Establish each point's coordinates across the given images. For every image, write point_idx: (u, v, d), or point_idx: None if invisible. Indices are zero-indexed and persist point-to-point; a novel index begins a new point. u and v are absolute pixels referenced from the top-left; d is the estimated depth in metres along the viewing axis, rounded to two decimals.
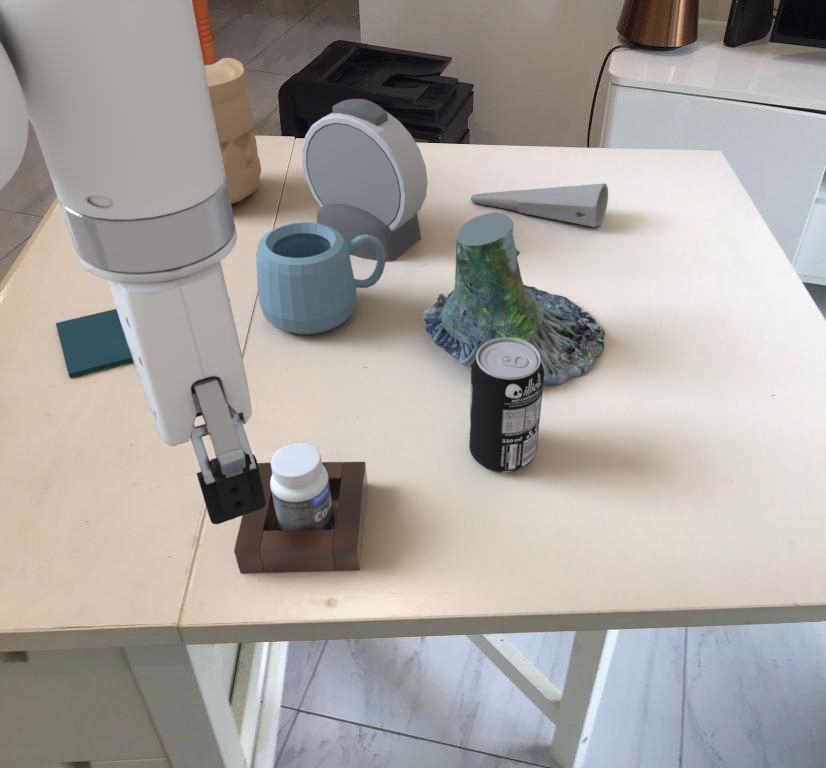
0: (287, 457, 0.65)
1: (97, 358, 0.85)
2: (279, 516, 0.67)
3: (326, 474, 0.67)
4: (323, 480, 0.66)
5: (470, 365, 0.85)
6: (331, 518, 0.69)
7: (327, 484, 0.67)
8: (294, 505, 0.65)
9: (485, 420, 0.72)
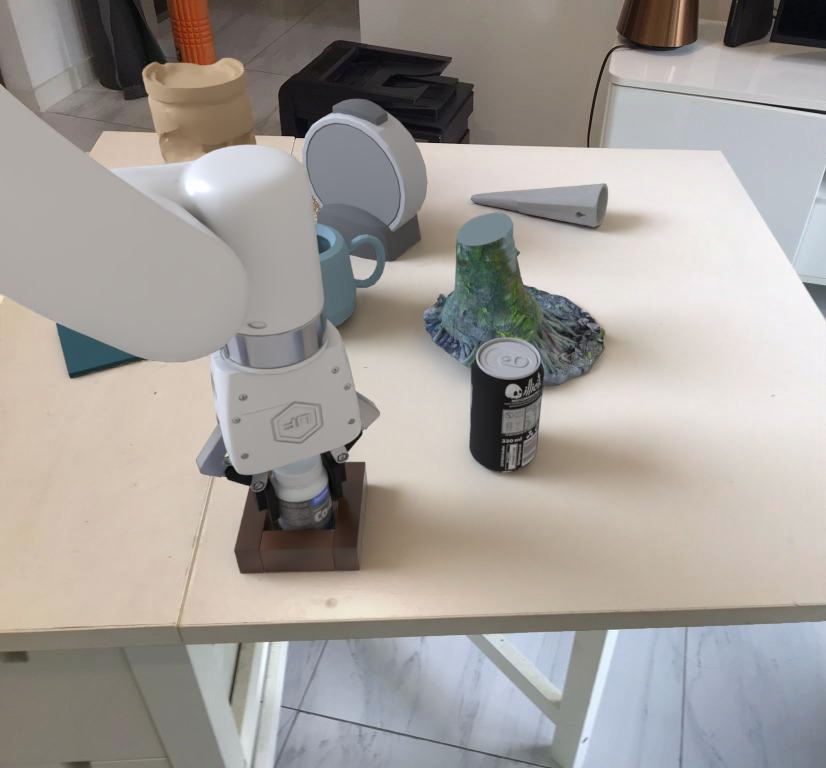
0: None
1: (97, 358, 0.85)
2: None
3: (326, 474, 0.67)
4: (323, 480, 0.66)
5: (470, 365, 0.85)
6: (331, 518, 0.69)
7: (327, 484, 0.67)
8: (294, 505, 0.65)
9: (485, 420, 0.72)
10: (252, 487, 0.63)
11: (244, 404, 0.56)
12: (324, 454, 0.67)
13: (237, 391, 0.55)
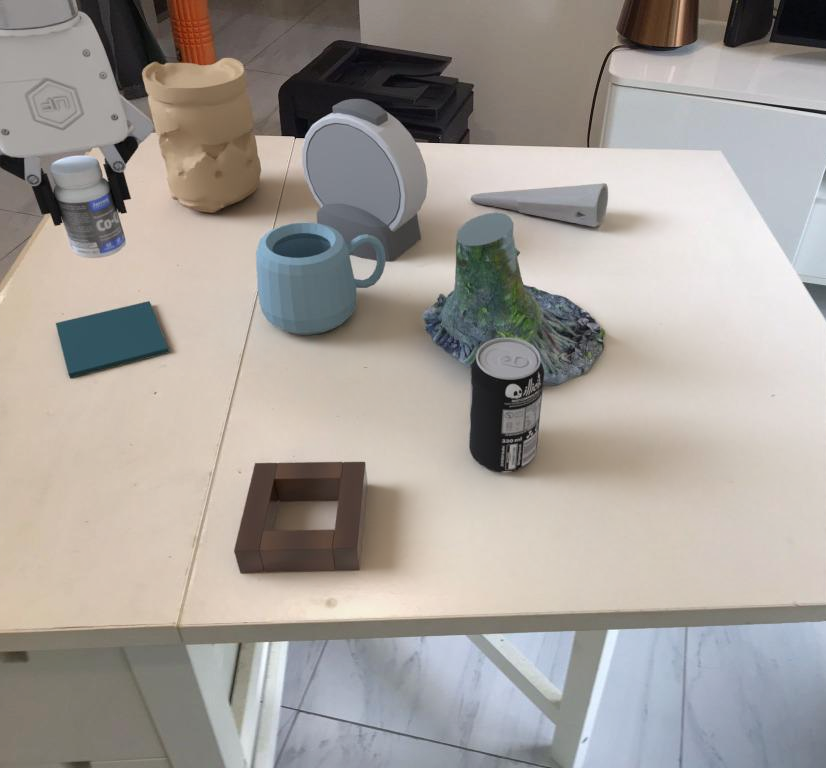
0: (67, 163, 0.71)
1: (97, 358, 0.85)
2: (65, 225, 0.73)
3: (107, 185, 0.73)
4: (102, 188, 0.72)
5: (470, 365, 0.85)
6: (119, 235, 0.75)
7: (108, 194, 0.73)
8: (72, 207, 0.71)
9: (485, 420, 0.72)
10: (26, 179, 0.69)
11: None
12: (105, 167, 0.73)
13: None
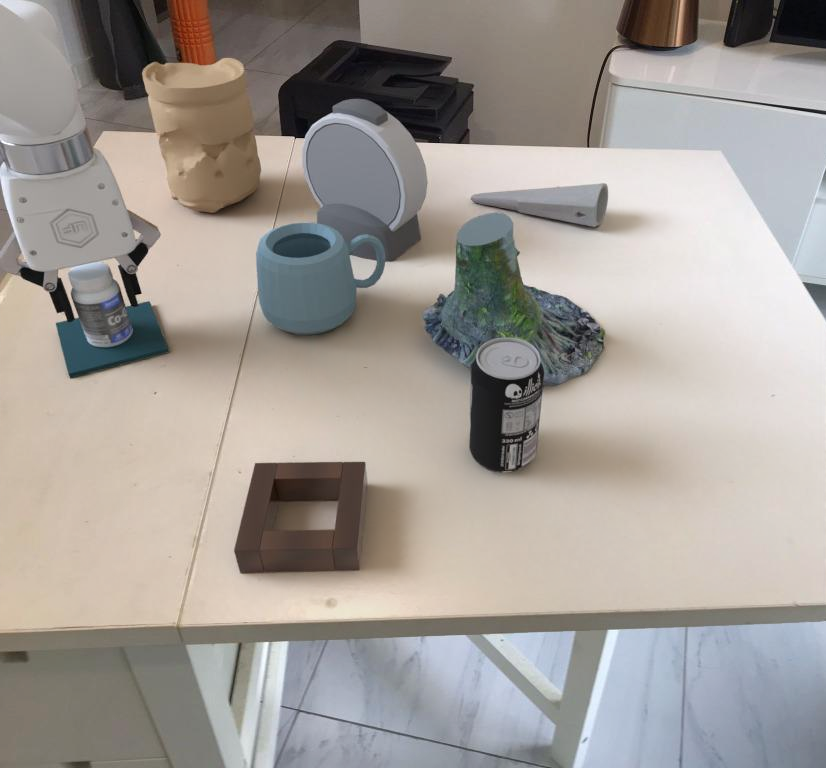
0: (82, 270, 0.83)
1: (97, 358, 0.85)
2: (80, 320, 0.85)
3: (117, 287, 0.85)
4: (112, 290, 0.84)
5: (470, 365, 0.85)
6: (127, 327, 0.87)
7: (117, 294, 0.85)
8: (88, 308, 0.83)
9: (485, 420, 0.72)
10: (44, 286, 0.81)
11: (25, 206, 0.74)
12: (120, 269, 0.85)
13: (17, 194, 0.73)
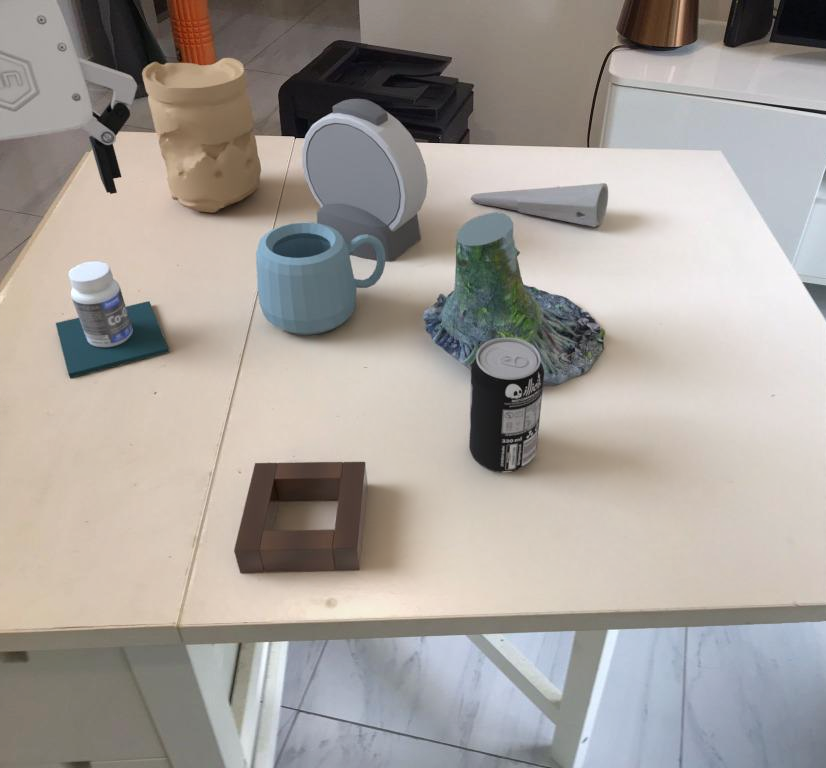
0: (82, 269, 0.83)
1: (97, 358, 0.85)
2: (80, 320, 0.85)
3: (117, 287, 0.85)
4: (112, 290, 0.84)
5: (470, 365, 0.85)
6: (127, 327, 0.87)
7: (117, 294, 0.85)
8: (88, 308, 0.83)
9: (485, 420, 0.72)
10: None
11: None
12: (92, 140, 0.63)
13: None
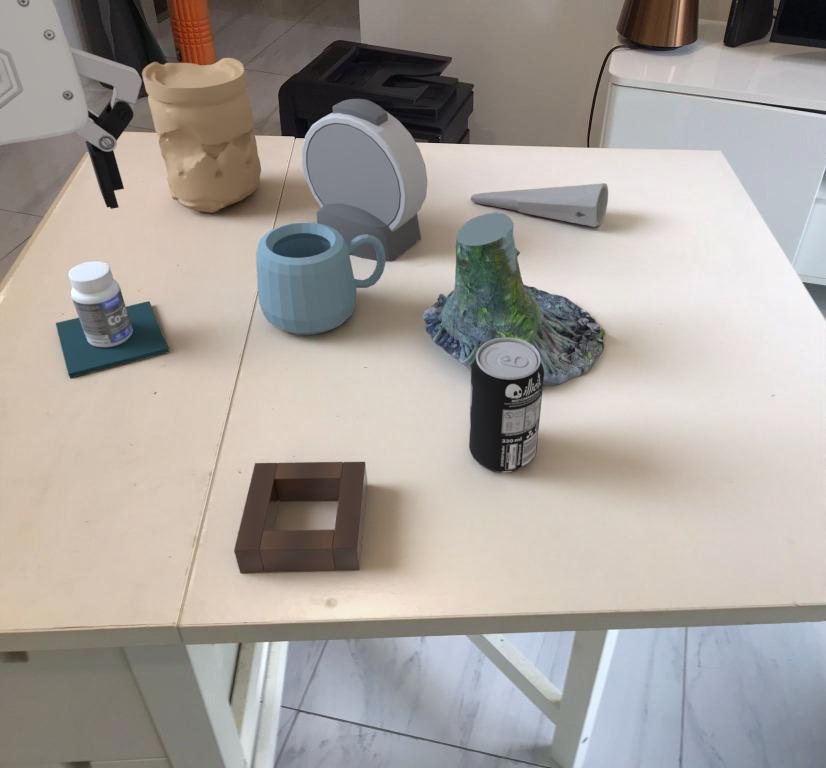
0: (82, 269, 0.83)
1: (97, 358, 0.85)
2: (80, 320, 0.85)
3: (117, 287, 0.85)
4: (112, 290, 0.84)
5: (470, 365, 0.85)
6: (127, 327, 0.87)
7: (117, 294, 0.85)
8: (88, 308, 0.83)
9: (485, 420, 0.72)
10: None
11: None
12: (89, 145, 0.53)
13: None
